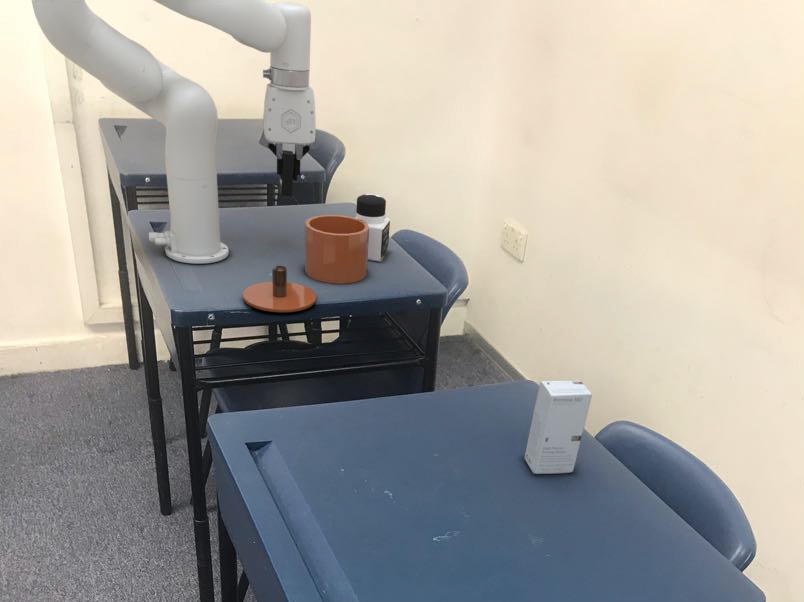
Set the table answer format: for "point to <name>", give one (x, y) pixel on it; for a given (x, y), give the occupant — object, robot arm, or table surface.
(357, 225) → the terracotta pot
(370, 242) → the medicine bottle
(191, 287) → the table surface
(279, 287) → the lid
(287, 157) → the ink cartridge
